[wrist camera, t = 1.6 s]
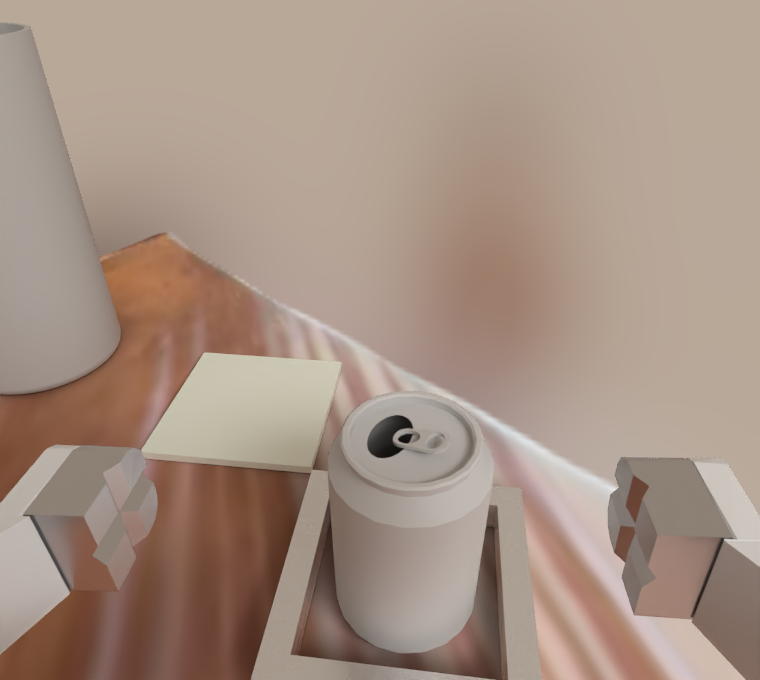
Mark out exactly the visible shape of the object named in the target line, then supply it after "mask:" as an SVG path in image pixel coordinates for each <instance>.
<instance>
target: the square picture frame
mask: <svg viewBox="0 0 760 680" xmlns="http://www.w3.org/2000/svg"><path fill="white" fill-rule="evenodd" d="M330 520H331V513H330V499H329V485H328V471H322V470H312V471H311V475H310V478H309V481H308V485H307V488H306V492H305V495H304V499H303V502H302V505H301V509H300V512H299V516H298V519H297V523H296V526H295V529H294V533H293V536H292V540H291V543H290V546H289V550H288V553H287V557H286V560H285V564H284V567H283V570H282V574H281V577H280V581H279V584H278V588H277V591H276V594H275V598H274V601H273V605H272V608H271V611H270V615H269V618H268V622H267V625H266V629H265V632H264V635H263V639H262V642H261V646H260V649H259V653H258V656H257V659H256V663H255V666H254V670H253V673H252V677H251V680H494V679H485V678H477V677H469V676H461V675H453V674H444V673H436V672H428V671H420V670H412V669H403V668H395V667H387V666H379V665H370V664H362V663H354V662H346V661H338V660H329V659H321V658H313V657H305V656H299V653H300V648H301V644H302V640H303V635H304V631H305V627H306V623H307V618H308V614H309V610H310V605H311V601H312V597H313V593H314V588H315V584H316V580H317V576H318V571H319V567H320V563H321V558H322V554H323V550H324V546H325V541H326V537H327V533H328V528H329V524H330ZM486 527H494V542H495V561H496V579H497V598H498V617H499V636H500V655H501V673H502V680H542V677H541V667H540V658H539V649H538V640H537V630H536V621H535V612H534V603H533V594H532V584H531V575H530V566H529V557H528V547H527V538H526V529H525V520H524V510H523V501H522V492H521V488H513V487H502V486H492V490H491V497H490V503H489V509H488V516H487V522H486Z"/></svg>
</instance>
